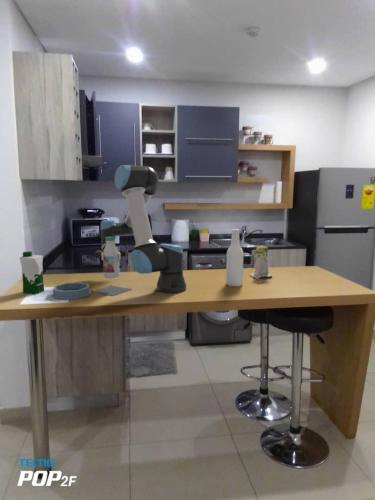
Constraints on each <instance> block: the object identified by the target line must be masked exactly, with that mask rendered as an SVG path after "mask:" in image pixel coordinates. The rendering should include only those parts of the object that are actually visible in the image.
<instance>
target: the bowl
mask: <svg viewBox="0 0 375 500" xmlns="http://www.w3.org/2000/svg"><path fill="white" fill-rule="evenodd" d="M91 293H92V291H91V290H90V284H89V283H85V282H80V281H79V282H64V283H60V284H57V285H54V286H53V289H52V297H54V299H55V300H64V301H65V300H66V301H67V300H69V301H70V300H79V299H83V298H87V297H88V296H90V295H91Z"/></svg>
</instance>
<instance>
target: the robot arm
mask: <svg viewBox="0 0 375 500" xmlns="http://www.w3.org/2000/svg"><path fill="white" fill-rule="evenodd" d="M159 180H160V179H159V176H158V173H157V171H156V170H154V168H152V167H151V166H147V165H133V164H132V165H131V164H122V165H120V166H118V167H117V169H116V171H115V174H114V185H115V188H116V189H118V190H120V191H121V195H122V196H123V197H125V200H126V204H127V209H128V212H127V215H126V216H125V218H124V221H123V222H115V220H114V219H104V220H101V221H100V233H101V235H100V237H101V241H100V242H101V245H100V246H101V250H100V249H96V251H95V253H94V257H95V259H97V258H98V259H99V260H101V261H103V251H104V248H105V246H106V240H105V237H115V238H116V237H124V236H125V237H126V236H133V237H134V241H135V243H134V244H135V245H134V246H133V250H132V252H131V254H130V256H131V257H130V262H131V266H132V267H133V269H134V271H136V272H137V273H138V274H140V275H145V274H151V273H157V272H159V277H158V280H157V283H156V290H157V291H158V292H161V293H165V294H166V293H167V294H169V293H170V294H173V293H174V294H175V293H176V294H177V293H182V292H184V291H186V290H187V283H186V279H185V276H184V271H183V270H184V252H183V247H182V246H181V245H179V244H171V243H160V244H159V245H158V242H156V241H155V240H154V238H153V233H152V229H151V225H150V220H149V214H148V211H147V205H148V204H149V203H150V200H151V198H152V197H153V196H154V195H155V194H156V193H157V190H158V189H159V182H160V181H159ZM118 256H119V260H121V259H122V257H124V258H125V257H126V251H125V250H124V249H123V248H120V249H118Z"/></svg>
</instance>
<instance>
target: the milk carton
mask: <svg viewBox="0 0 375 500" xmlns="http://www.w3.org/2000/svg"><path fill="white" fill-rule="evenodd" d="M43 259H44V255H41V254H33V252H32V251H23V252H22V256H20V257H19V261H20V264H21V273H22V275H21V276H22V294H24V295H25V294H27V295H38V294H39V293H42V292H44V291H45V286H44V284H45V283H44V274H43V273H44V269H43Z"/></svg>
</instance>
